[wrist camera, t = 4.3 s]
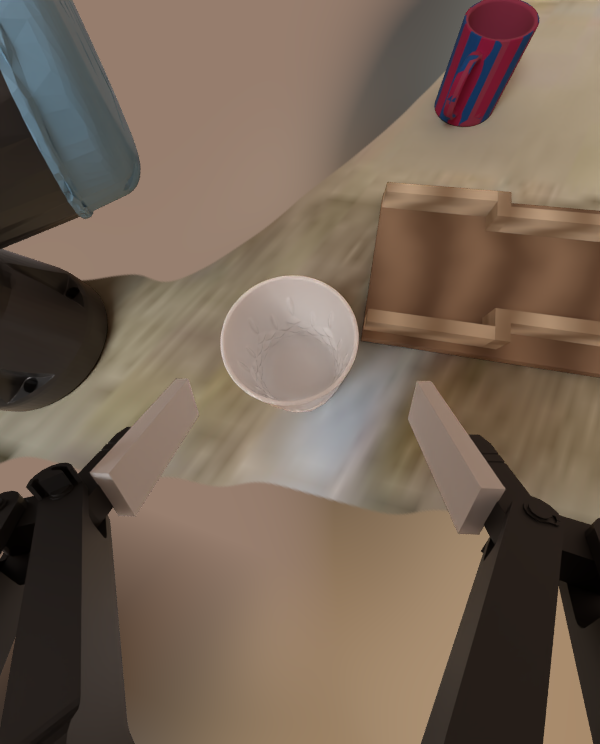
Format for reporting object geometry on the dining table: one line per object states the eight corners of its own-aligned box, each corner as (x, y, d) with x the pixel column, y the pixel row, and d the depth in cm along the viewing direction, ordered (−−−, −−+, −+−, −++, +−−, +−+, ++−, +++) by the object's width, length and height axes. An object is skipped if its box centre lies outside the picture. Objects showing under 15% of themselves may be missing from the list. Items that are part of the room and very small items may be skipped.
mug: (503, 102, 31) (554, 11, 24) (453, 153, 29) (491, 71, 23) (456, 80, 32) (491, -12, 26) (405, 127, 31) (428, 43, 24)
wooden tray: (360, 340, 25) (365, 329, 22) (382, 199, 28) (388, 175, 26) (645, 384, 22) (688, 377, 19) (625, 220, 26) (659, 197, 23)
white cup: (245, 399, 24) (195, 373, 14) (279, 326, 26) (255, 259, 16) (324, 432, 23) (328, 428, 13) (354, 353, 24) (378, 298, 15)
